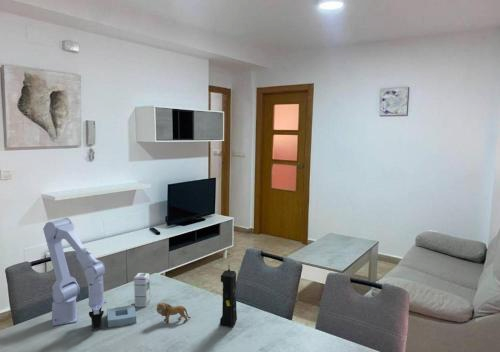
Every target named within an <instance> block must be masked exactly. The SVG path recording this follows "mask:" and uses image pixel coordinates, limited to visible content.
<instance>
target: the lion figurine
mask: <svg viewBox="0 0 500 352" xmlns="http://www.w3.org/2000/svg"><path fill="white" fill-rule="evenodd" d="M156 313H157V314H159V315H161V317H164V321H165V324H169V322H170V316H176V315H177V314H179V315H180V316H179V317H178V320H182V318H183V319H184V323H187V322H188V319H191V316H189V314H188V311H187V309H186V307H185V306H183V305H177V306H172V305H171V304H168V303H165V302H159V303H158V304H157V305H156Z"/></svg>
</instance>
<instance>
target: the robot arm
mask: <svg viewBox="0 0 500 352" xmlns="http://www.w3.org/2000/svg"><path fill="white" fill-rule="evenodd" d="M42 229H43V233H44V237H45V238H44V239H45V241H46V246H47V249H48V253H49V257H50V261H51V264H52V268H53V272H54V275H55V280H56V281H54V283H53V285H52V287H51V288H52V298H53V301H52V304H51V314H52V315H51V319H52V321H51V322H52V326H58V325H59V326H60V325H64V324H72V323H77V322H78V316H79V314H78V312H77V298H78V295H79V294H80V292H81V288H80V285H79V284H78V281H77V280H76V277H73V276H71V275H70V270H69V267H68V263H67V258H66V256H65V255H66V254H65V251H64V247H63V244H62V241H63V240H65V241H66V242H67V244H69V245H70V247H71V248H72V249H73V250H74V252H76V254H75V255H76V259H77V260H78V262H79V264H81V266H82V268H83V269H84V270H85V271H84V273H83V274H84V276H85V278H86V282H87V284H88V307H89V308H90V309H91V311H89V312H88V316H89V318H90V319H92V321H91V323H92V322H93V326H94V328H99V327H100V323H101V318H102V319H103V315H104V313H105V311H104V310H102V308H103V305H104V304H107V299H105V298H104V297H105V296H104V274H106V272H107V268H106V264H105V263H104V262H103V261H100V260H99V259H97V258H96V257H95V255H94V253H93V252H92V251H91V250H90V248H87V247H85V246H84V245H83V243H82V241H81V240H80V238H79V236H78V235H77V233H76V231H75V224H74V222H72V220H71V219H70V217H69V218H68V217H64V218H60V219H56V220H53V221H48V222H46V223H45V225H44V227H43V228H42Z"/></svg>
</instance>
